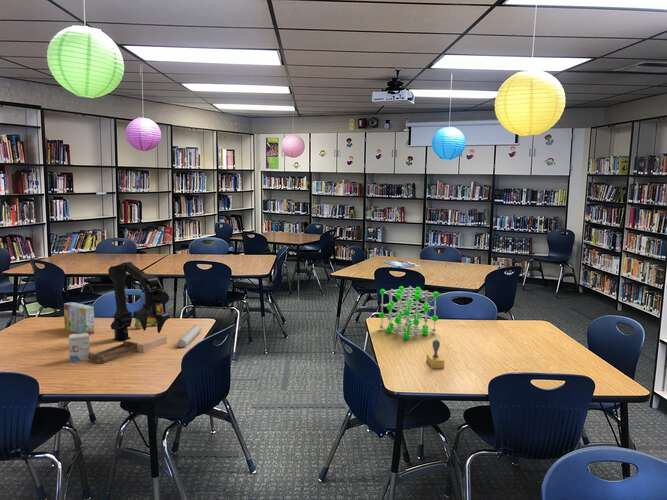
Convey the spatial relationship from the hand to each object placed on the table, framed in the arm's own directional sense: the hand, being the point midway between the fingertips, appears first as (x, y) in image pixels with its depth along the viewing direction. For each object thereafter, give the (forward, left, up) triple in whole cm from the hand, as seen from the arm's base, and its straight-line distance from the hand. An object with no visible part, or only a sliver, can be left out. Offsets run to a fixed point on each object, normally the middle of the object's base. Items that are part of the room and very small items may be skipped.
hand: (151, 331), depth 261 cm
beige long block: (0, 0, -8) cm, 8 cm away
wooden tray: (-8, -17, -8) cm, 20 cm away
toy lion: (-28, +28, -8) cm, 40 cm away
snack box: (-56, +4, -8) cm, 57 cm away
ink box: (-18, -28, -8) cm, 34 cm away
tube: (+10, +17, -9) cm, 21 cm away
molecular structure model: (+110, +84, -8) cm, 139 cm away
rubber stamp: (+136, +38, -8) cm, 142 cm away
